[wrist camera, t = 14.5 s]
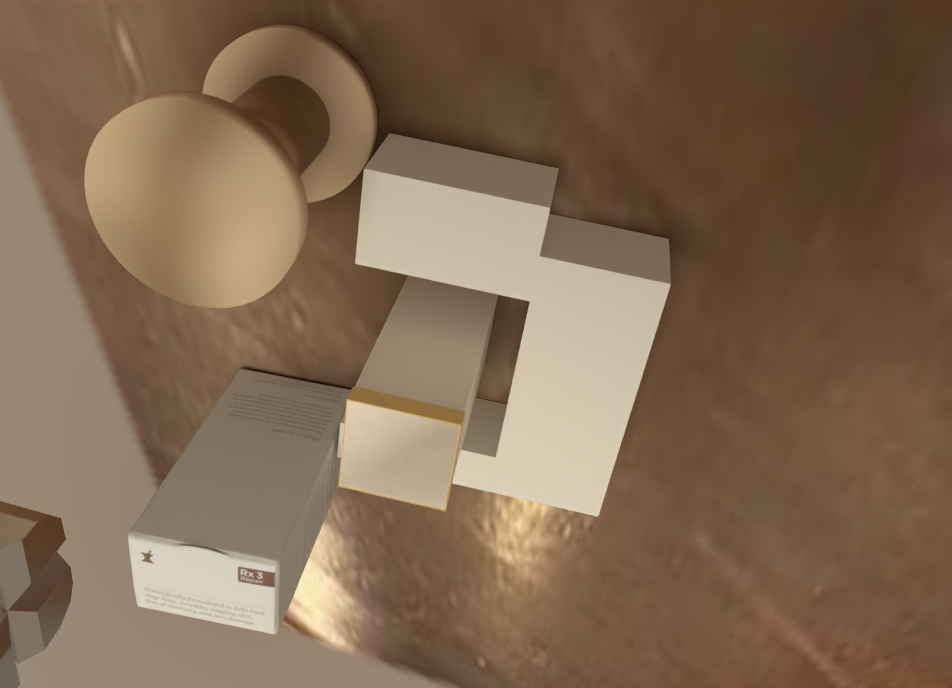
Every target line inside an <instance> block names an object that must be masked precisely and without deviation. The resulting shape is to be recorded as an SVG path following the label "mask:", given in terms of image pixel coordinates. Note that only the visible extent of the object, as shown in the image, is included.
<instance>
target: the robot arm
mask: <svg viewBox="0 0 952 688" xmlns="http://www.w3.org/2000/svg"><path fill="white" fill-rule="evenodd" d="M65 540H66V538H65V534H64V529H63V525H62V521H61V518H58V517H55V516H51V515H47V514H44V513H40V512H37V511H33V510H29V509H26V508H22V507H19V506H15V505H12V504H8V503H5V502H1V501H0V688H17V687H18V686H19V685H20V672H19V663H20V662H22V661H24V660H26V659H28V658H30V657H32V656H34V655H35V654H37V653H39V652H41V651H43V650H45V649H46V647H47V646H48V644H49V643H50V641H51V640H52V638H53V637H54V635H55V634H56V633H57V631H58V630H59V628H60V626H61V624H62V621H63V619H64V616H65V614H66V612H67V609H68V607H69V604H70V601H71V594H72V593H71V592H72V585H73V581H72V575H71V567H70V566H69V565H68V564H67V563H66V562H65V560H64V559H63V558H62V557H61V556H60V555H59V554H58V553H57V550H58V549H59V548H60V546H61V545H62V544H63V542H64V541H65Z"/></svg>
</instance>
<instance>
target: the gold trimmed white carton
mask: <svg viewBox="0 0 952 688" xmlns="http://www.w3.org/2000/svg"><path fill="white" fill-rule="evenodd" d="M497 299H498V294H493V293H488V292H484V291H479V290H475V289H470V288H465V287H461V286H456V285H452V284H447V283H442V282H438V281H433V280H428V279H424V278H419V277H415V276H410V275H408V277H407V279H406V281H405V283H404V285H403V287H402V289H401V291H400V293H399V295H398V298H397V300H396V302H395V304H394V306H393V308H392V310H391V312H390V314H389V316H388V318H387V320H386V323H385V325H384V327H383V329H382V331H381V333H380V335H379V337H378V339H377V341H376V343H375V345H374V347H373V350H372V352H371V354H370V356H369V358H368V360H367V362H366V364H365V366H364V368H363V370H362V372H361V375H360V377H359V379H358V381H357V383H356V385H355V387H354V386H353V387H352V389H351V391H350V393H349V395H348V397H347V401H346V412H345V422H344V432H343V442H342V453H341V463H340V473H339V483H338V486H339V487H343V488H347V489H352V490H356V491H360V492H365V493H369V494H373V495H378V496H382V497H386V498H391V499H395V500H400V501H404V502H408V503H413V504H417V505H421V506H426V507H430V508H434V509H439V510H443V511H446V507H447V504H448V500H449V496H450V491H451V486H452V480H453V477H454V473H455V469H456V466H457V462H458V459H459V455H460V451H461V448H462V444H463V441H464V437H465V433H466V430H467V426H468V423H469V419H470V415H471V412H472V408H473V404H474V401H475V397H476V394H477V390H478V386H479V383H480V379H481V376H482V372H483V368H484V365H485V360H486V355H487V350H488V345H489V340H490V335H491V330H492V324H493V319H494V314H495V309H496V304H497Z"/></svg>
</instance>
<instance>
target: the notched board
mask: <svg viewBox="0 0 952 688" xmlns="http://www.w3.org/2000/svg"><path fill="white" fill-rule="evenodd" d="M558 172H559V168H554V167H550V166H545V165H540V164H535V163H531V162H526V161H521V160H516V159H511V158H507V157H502V156H497V155H492V154H487V153H483V152H478V151H473V150H468V149H464V148H459V147H454V146H449V145H444V144H440V143H435V142H430V141H425V140H420V139H416V138H411V137H406V136H401V135H396V134H392V133H390V134H389V135H388V136H387V138H386V139H385V140H384V142H383V143H382V144H381V146H380V147H379V149H378V150H377V151H376V153H375V154H374V155H373V157H372V158H371V160H370V161H369V162H368V164H367V165H366V166H365V168H364V173H363V184H362V195H361V206H360V216H359V227H358V238H357V249H356V260H355V264H359V265H364V266H369V267H373V268H378V269H382V270H387V271H392V272H396V273H401V274H405V275H410V276H415V277H419V278H424V279H428V280H433V281H438V282H442V283H447V284H452V285H456V286H461V287H465V288H470V289H475V290H479V291H484V292H488V293H493V294H498V295H502V296H507V297H512V298H516V299H521V300H525V301H530V303H529V308H528V312H527V317H526V322H525V326H524V331H523V335H522V340H521V344H520V349H519V354H518V358H517V363H516V367H515V372H514V377H513V381H512V386H511V390H510V395H509V399H508V404H502V403H498V402H493V401H489V400H484V399H480V398H475V401H474V404H473V408H472V412H471V415H470V419H469V423H468V426H467V430H466V433H465V437H464V441H463V444H462V448H461V451H460V455H459V459H458V462H457V466H456V469H455V473H454V477H453V480H452V483H453V484H458V485H462V486H466V487H471V488H475V489H480V490H484V491H488V492H493V493H497V494H501V495H506V496H510V497H515V498H519V499H523V500H528V501H532V502H537V503H541V504H545V505H550V506H554V507H558V508H563V509H567V510H572V511H576V512H580V513H585V514H589V515H594V516H598V515H599V512H600V509H601V506H602V502H603V499H604V496H605V493H606V490H607V486H608V483H609V480H610V477H611V474H612V470H613V467H614V464H615V461H616V458H617V455H618V451H619V448H620V445H621V442H622V439H623V435H624V432H625V429H626V426H627V423H628V419H629V416H630V413H631V410H632V407H633V404H634V400H635V397H636V394H637V391H638V388H639V384H640V381H641V378H642V375H643V372H644V368H645V365H646V362H647V359H648V356H649V352H650V349H651V346H652V343H653V340H654V337H655V333H656V330H657V327H658V324H659V321H660V317H661V314H662V311H663V308H664V305H665V301H666V298H667V295H668V292H669V289H670V285H671V276H670V255H669V239H667V238H663V237H658V236H653V235H648V234H644V233H639V232H634V231H629V230H625V229H620V228H615V227H611V226H606V225H601V224H596V223H592V222H587V221H582V220H577V219H573V218H568V217H563V216H559V215H554V214H549V213H550V208H551V204H552V199H553V195H554V190H555V185H556V181H557V176H558ZM344 422H345V414H344V416H343V418H342V420H341V422H340V432H339V443H338V454H337V457H339V458H341V453H342V442H343V432H344Z"/></svg>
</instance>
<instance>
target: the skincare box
mask: <svg viewBox="0 0 952 688" xmlns="http://www.w3.org/2000/svg"><path fill="white" fill-rule="evenodd" d="M350 391H351V390H349V389H344V388H338V387H333V386H328V385H322V384H317V383H312V382H307V381H301V380H296V379H291V378H286V377H281V376H276V375H271V374H266V373H261V372H255V371H250V370H245V369H239V370H238V371H237V373H236V375H235V376H234V378H233V379H232V381H231V382H230V384H229V385H228V387H227V388H226V390H225V391H224V393H223V394H222V395H221V397H220V398H219V400H218V401H217V403H216V404H215V405H214V407H213V409H212V410H211V412H210V413H209V414H208V416H207V417H206V419H205V420H204V422H203V423H202V425H201V426H200V428H199V429H198V431H197V432H196V434H195V435H194V437H193V438H192V440H191V441H190V442H189V444H188V445H187V447H186V448H185V450H184V451H183V453H182V454H181V456H180V457H179V459H178V460H177V462H176V463H175V465H174V466H173V468H172V469H171V470H170V472H169V473H168V475H167V477H166V478H165V479H164V481H163V482H162V484H161V485H160V487H159V488H158V490H157V491H156V493H155V495H154V496H153V497H152V499H151V501H150V502H149V504H148V505H147V507H146V509H145V510H144V511H143V513H142V514H141V516H140V517H139V518H138V520H137V521H136V523H135V524H134V525H133V527H132V528H131V530H130V531H129V533H128V542H129V551H130V558H131V567H132V574H133V582H134V590H135V595H136V600H137V605H138V606H139V607H144V608H149V609H155V610H160V611H164V612H169V613H174V614H179V615H184V616H188V617H194V618H198V619H204V620H208V621H213V622H218V623H223V624H227V625H232V626H237V627H242V628H247V629H252V630H257V631H262V632H266V633H270V634H276V633H277V632H278V631H279V629H280V627H281V624H282V622H283V620H284V617H285V615H286V612H287V610H288V608H289V605H290V603H291V601H292V598H293V596H294V593H295V590H296V588H297V585H298V583H299V580H300V578H301V575H302V573H303V570H304V568H305V566H306V563H307V561H308V558H309V556H310V553H311V551H312V548H313V546H314V544H315V541H316V539H317V536H318V534H319V531H320V529H321V527H322V524H323V522H324V519H325V517H326V515H327V512H328V510H329V508H330V505H331V503H332V500H333V498H334V495H335V493H336V490H337V488H338V483H339V473H340V463H341V458H339V457H337V454H338V443H339V432H340V422H341V420H342V418H343V416H344V414H345V412H346V401H347V397H348V395H349V393H350Z"/></svg>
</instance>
